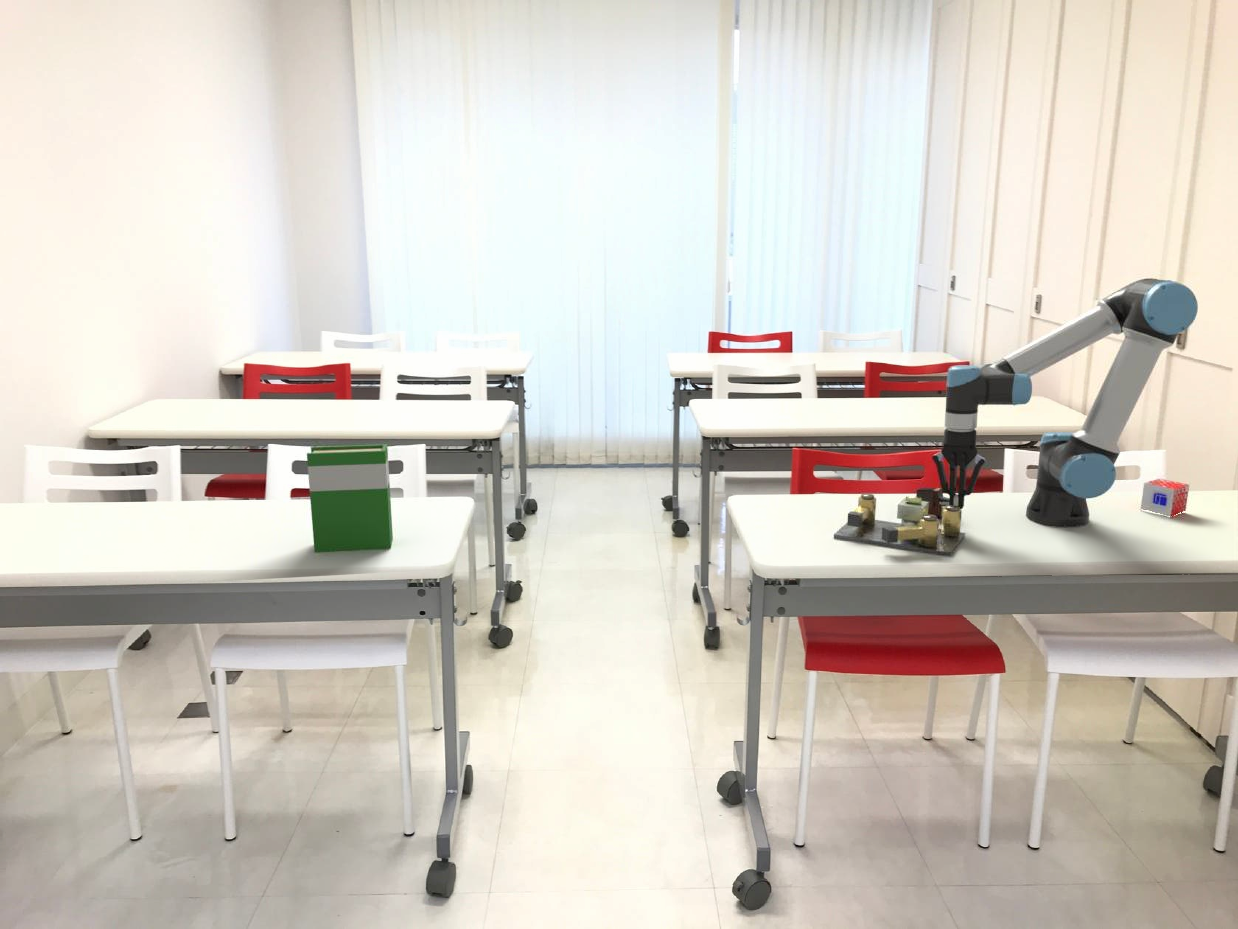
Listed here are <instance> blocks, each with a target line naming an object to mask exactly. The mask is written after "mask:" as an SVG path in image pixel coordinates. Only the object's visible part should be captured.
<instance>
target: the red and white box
mask: <svg viewBox="0 0 1238 929" xmlns="http://www.w3.org/2000/svg"><path fill="white" fill-rule="evenodd" d="M1189 489H1190V484H1187V483H1183V482H1178V481H1174V480H1173V481H1172V480H1168V479H1164V478H1157V479H1153V480H1149V481H1146V482H1144V483H1143V490H1142V496H1141V505H1140V510H1141V509H1143V510H1149V511H1152V512H1155V513H1160V514H1163V515H1166V516H1170V517H1171V516H1174V515H1176V514H1178V513H1180V512H1181V513H1182V512H1183V511H1186V510H1187V504H1188V499H1189ZM1186 512H1187V511H1186ZM1171 518H1172V517H1171Z"/></svg>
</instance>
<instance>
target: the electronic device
mask: <svg viewBox="0 0 1238 929" xmlns="http://www.w3.org/2000/svg"><path fill="white" fill-rule="evenodd" d="M915 497H919V498H922V501H926V502H929V507H928V514H929V515H935V516H937V517H938V518H937V519H939V518H940V519H942V517H941V516H939V514H938V505H939V502H949V500H950V497H947V496H944V493H943V492H942V488H941V487H940V488H939V487H919V488H917V490H916V495H915Z"/></svg>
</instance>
